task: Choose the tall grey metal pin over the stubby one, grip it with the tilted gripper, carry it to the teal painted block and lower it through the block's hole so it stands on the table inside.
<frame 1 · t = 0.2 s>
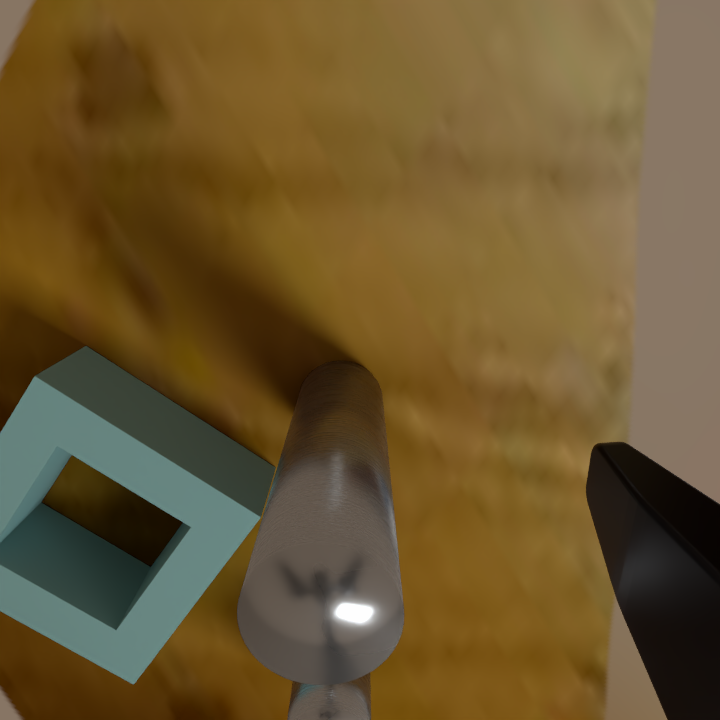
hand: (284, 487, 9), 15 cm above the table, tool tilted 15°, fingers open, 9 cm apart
tall pin: (340, 400, 25), on the table
short pin: (333, 658, 29), on the table
hole block: (128, 489, 26), on the table
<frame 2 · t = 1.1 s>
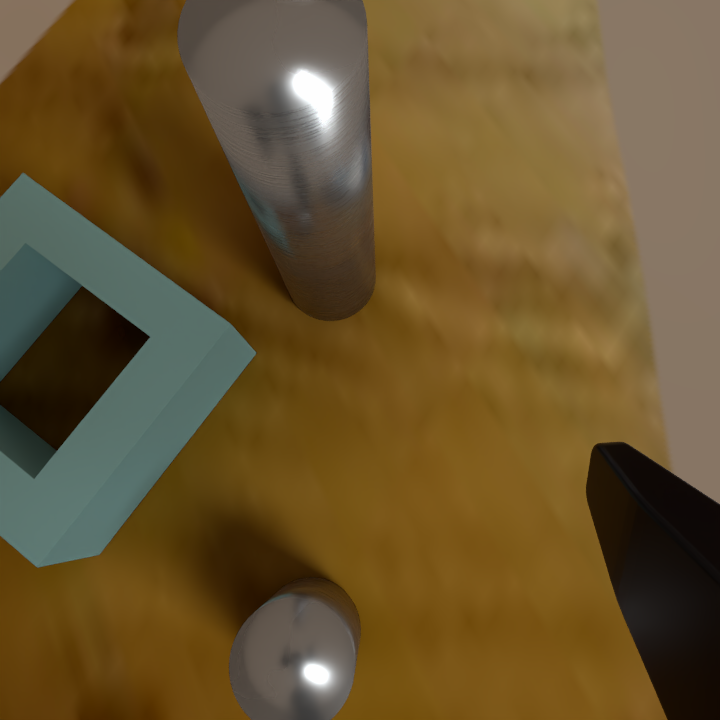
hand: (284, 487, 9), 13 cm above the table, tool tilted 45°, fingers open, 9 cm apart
tall pin: (331, 278, 24), on the table
short pin: (310, 629, 21), on the table
hole block: (89, 379, 23), on the table
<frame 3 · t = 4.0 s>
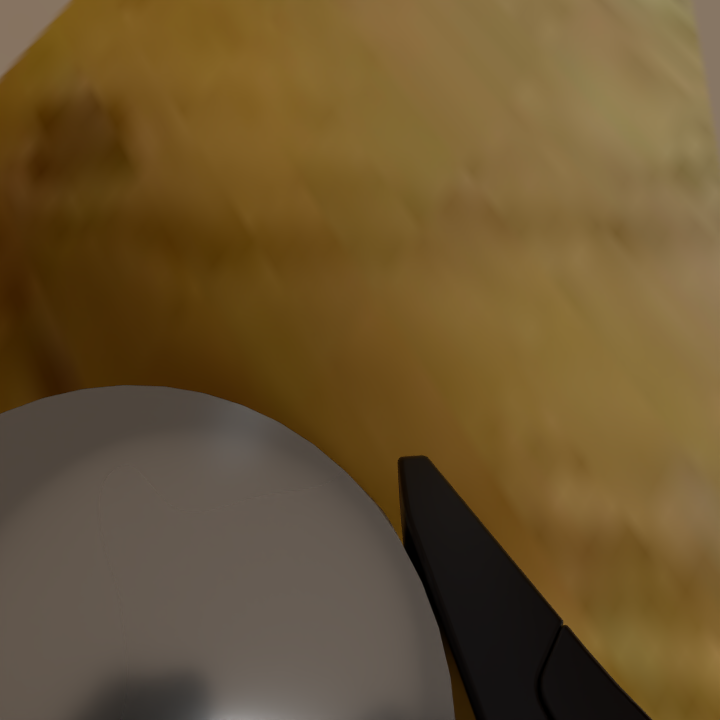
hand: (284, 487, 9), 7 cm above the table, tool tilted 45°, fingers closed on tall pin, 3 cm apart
tall pin: (330, 553, 16), on the table, touching gripper
when the fingers open (8 cm above the table, at t = 7.6 s): tall pin stays where it is, resting in hole block.
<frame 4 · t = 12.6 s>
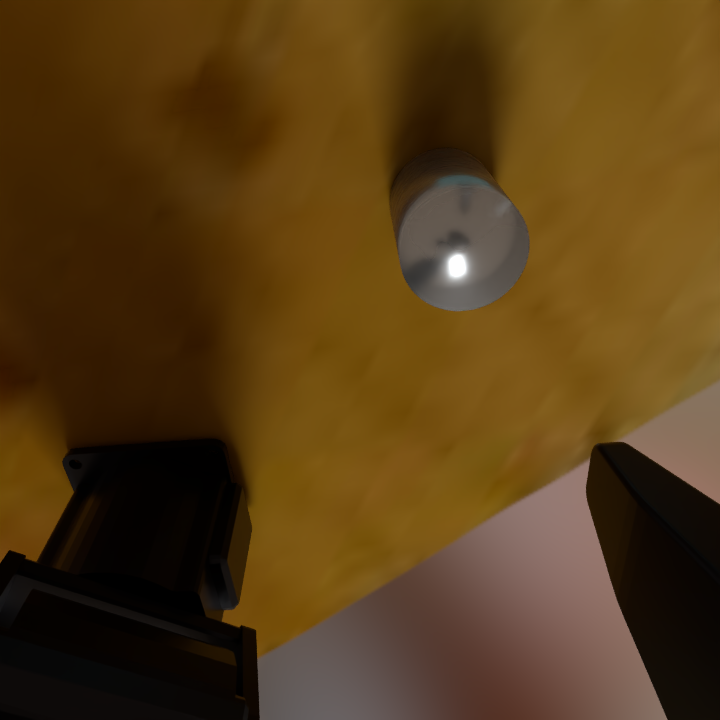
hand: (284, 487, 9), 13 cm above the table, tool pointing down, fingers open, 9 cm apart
short pin: (441, 201, 20), on the table
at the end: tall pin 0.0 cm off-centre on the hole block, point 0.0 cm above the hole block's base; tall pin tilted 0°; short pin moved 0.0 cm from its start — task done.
